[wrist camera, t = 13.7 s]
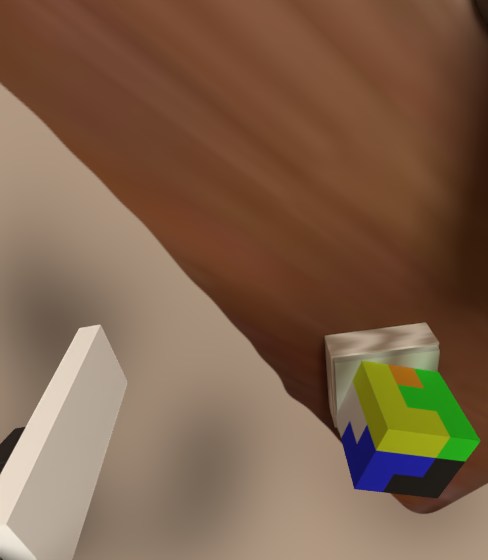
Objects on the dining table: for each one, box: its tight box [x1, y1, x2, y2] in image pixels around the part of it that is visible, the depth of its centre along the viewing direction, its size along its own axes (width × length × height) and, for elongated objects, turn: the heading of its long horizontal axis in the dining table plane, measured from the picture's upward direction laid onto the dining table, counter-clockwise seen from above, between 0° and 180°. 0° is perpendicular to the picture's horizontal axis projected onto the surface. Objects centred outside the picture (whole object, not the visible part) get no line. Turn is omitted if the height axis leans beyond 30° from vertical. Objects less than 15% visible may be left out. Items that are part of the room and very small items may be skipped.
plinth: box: [325, 323, 440, 432], centre depth 54 cm, size 13×13×5 cm
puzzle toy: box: [336, 361, 480, 498], centre depth 48 cm, size 10×10×10 cm
